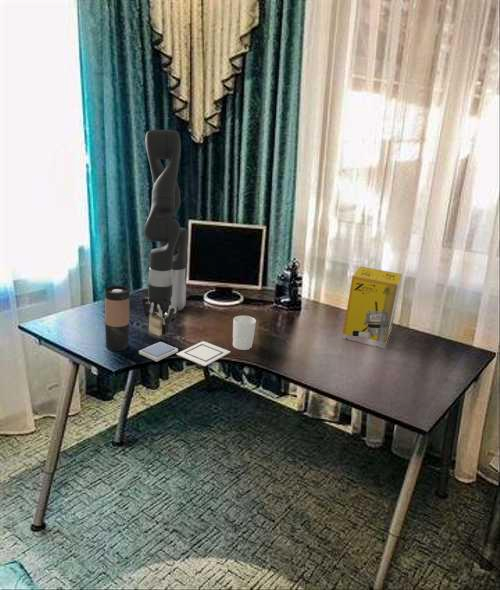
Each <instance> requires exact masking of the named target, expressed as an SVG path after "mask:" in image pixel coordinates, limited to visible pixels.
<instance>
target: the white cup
mask: <svg viewBox="0 0 500 590" xmlns="http://www.w3.org/2000/svg"><path fill="white" fill-rule="evenodd" d="M232 320H233V321H232V346H233V348H235V349H237V350H240V351H249V350H250V348H251V349H252V347H253V342H254V339H255V338H254V337H255V333H256V332H255V331H256V324H257V320H256V318H254V317H252V316H250V315H237V316H234V317H233V319H232Z"/></svg>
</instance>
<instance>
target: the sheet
mask: <svg viewBox="0 0 500 590" xmlns="http://www.w3.org/2000/svg"><path fill="white" fill-rule="evenodd" d="M230 353H231V350H227V349H225V348H222V347H220V346H217V345H216V344H215V345H214V344H213V343H210V342H206V341H204V340H202V341H200V342H198V343H195V344H193V345H192V346H189V347H188V348H185V349H183V350H181V351H178V352H176V353H175V354H176V355H177V356H179V357H181V358H183V359H186V360H189V361H191V362H193V363H195V364H198V365H200V366H203V367H206V366H208V365H210V364H212V363H214V362H216V361H218V360H219V359H221V358H223V357H225V356H227V355H229V354H230Z"/></svg>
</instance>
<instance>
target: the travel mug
mask: <svg viewBox="0 0 500 590" xmlns="http://www.w3.org/2000/svg"><path fill="white" fill-rule="evenodd" d="M104 291H105V292H104V294H105V297H104V304H105V305H104V309H105V310H104V316H105V317H104V326H105V346H106V349H108V350H109V351H114V352H118V351H119V352H121V351H123V350H127V348H128V347H129V341H130V289H129V288H128V287H127V286H124V285H122V286H121V285H113V286H108V287H106V288H105V289H104Z"/></svg>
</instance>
